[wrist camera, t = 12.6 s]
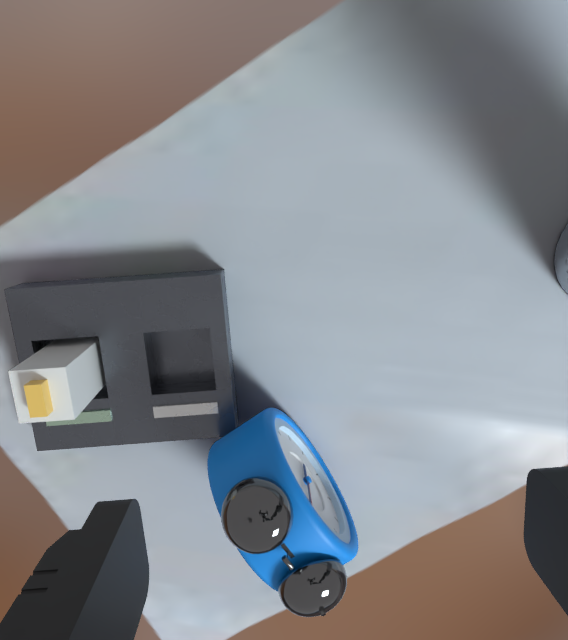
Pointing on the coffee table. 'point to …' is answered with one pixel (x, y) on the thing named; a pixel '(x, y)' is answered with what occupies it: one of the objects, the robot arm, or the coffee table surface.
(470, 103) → the coffee table surface
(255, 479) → the alarm clock
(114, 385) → the panel
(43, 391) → the plug
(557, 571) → the robot arm
